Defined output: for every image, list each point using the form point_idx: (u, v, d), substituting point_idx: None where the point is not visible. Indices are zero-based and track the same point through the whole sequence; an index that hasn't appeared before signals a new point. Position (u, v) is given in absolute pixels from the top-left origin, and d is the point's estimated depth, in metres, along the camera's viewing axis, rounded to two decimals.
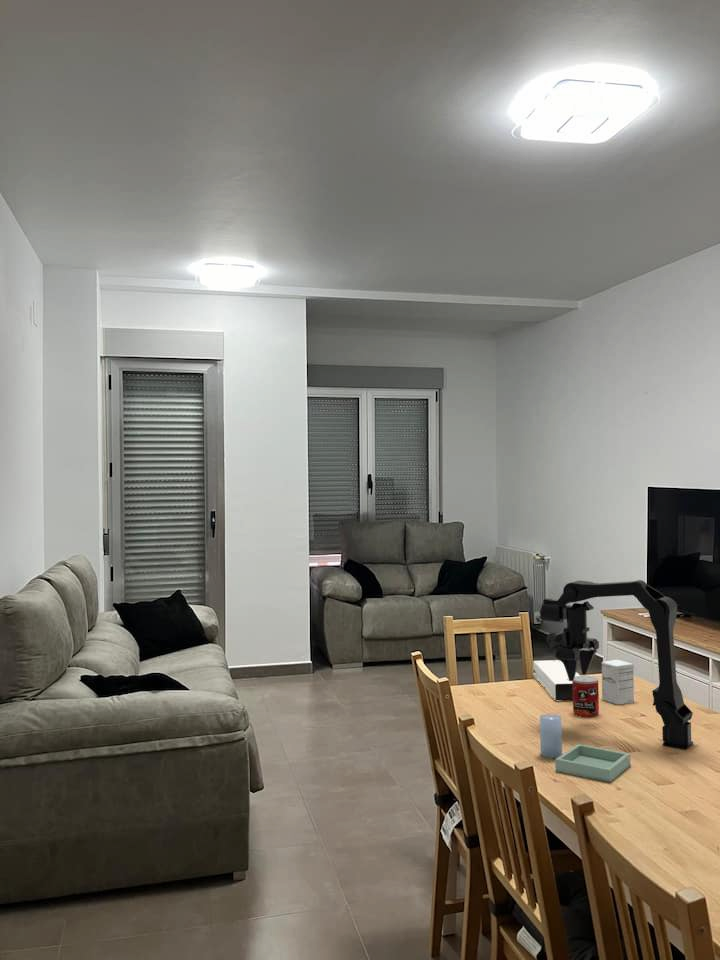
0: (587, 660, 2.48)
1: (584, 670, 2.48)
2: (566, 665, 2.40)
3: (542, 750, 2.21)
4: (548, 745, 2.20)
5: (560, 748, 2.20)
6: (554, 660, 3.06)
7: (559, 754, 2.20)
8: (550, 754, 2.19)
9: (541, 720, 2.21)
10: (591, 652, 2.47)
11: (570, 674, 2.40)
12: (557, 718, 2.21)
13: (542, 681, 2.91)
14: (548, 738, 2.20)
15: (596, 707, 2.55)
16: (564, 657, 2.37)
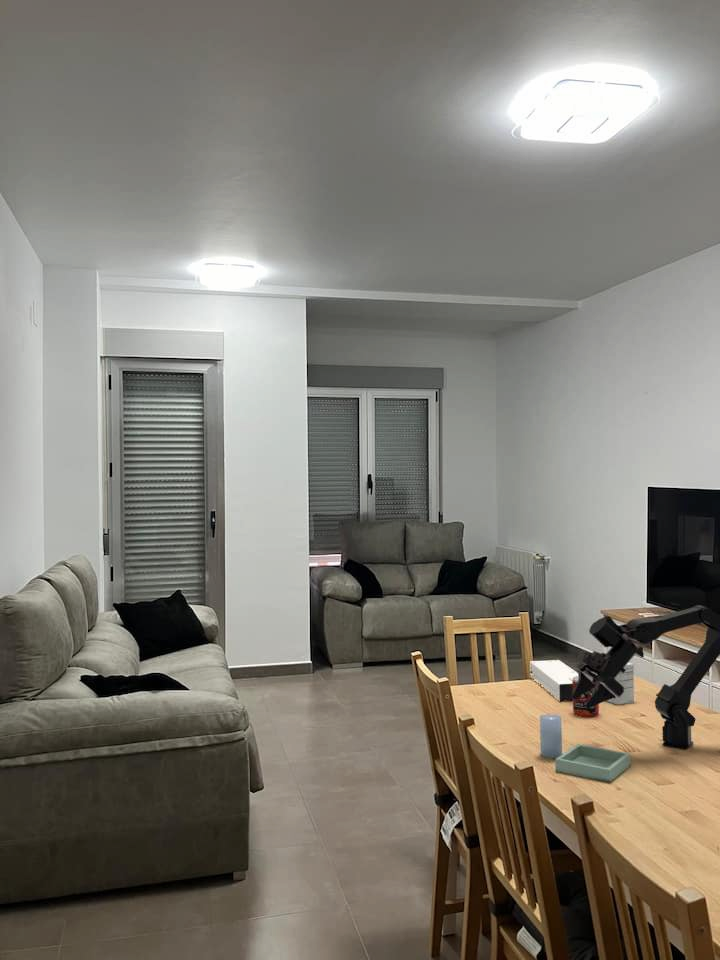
0: (585, 688, 2.29)
1: (576, 695, 2.28)
2: (597, 693, 2.18)
3: (542, 750, 2.21)
4: (548, 745, 2.20)
5: (560, 748, 2.20)
6: (550, 660, 3.06)
7: (559, 754, 2.20)
8: (550, 754, 2.19)
9: (541, 720, 2.21)
10: (593, 684, 2.29)
11: (592, 702, 2.18)
12: (557, 718, 2.21)
13: (542, 681, 2.91)
14: (548, 738, 2.20)
15: (596, 707, 2.55)
16: (613, 689, 2.15)
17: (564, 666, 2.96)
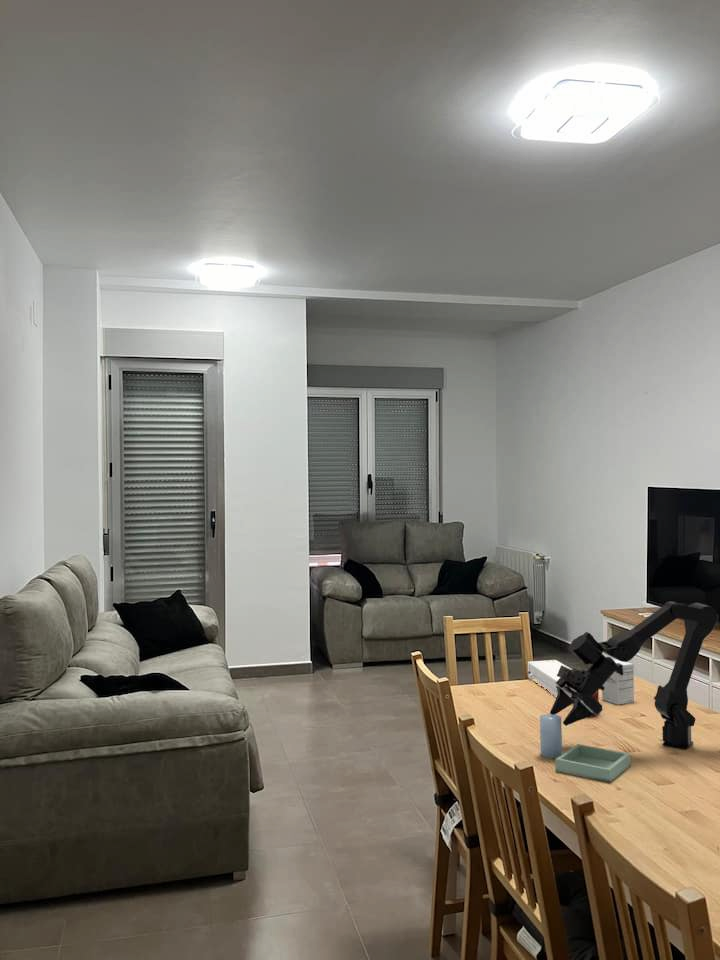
0: (563, 705, 2.28)
1: (555, 711, 2.27)
2: (576, 710, 2.17)
3: (542, 750, 2.21)
4: (548, 745, 2.20)
5: (560, 748, 2.20)
6: (548, 660, 3.06)
7: (559, 754, 2.20)
8: (550, 754, 2.19)
9: (541, 720, 2.21)
10: (572, 701, 2.28)
11: (570, 719, 2.17)
12: (557, 718, 2.21)
13: (541, 682, 2.91)
14: (548, 738, 2.20)
15: None
16: (591, 707, 2.14)
17: None
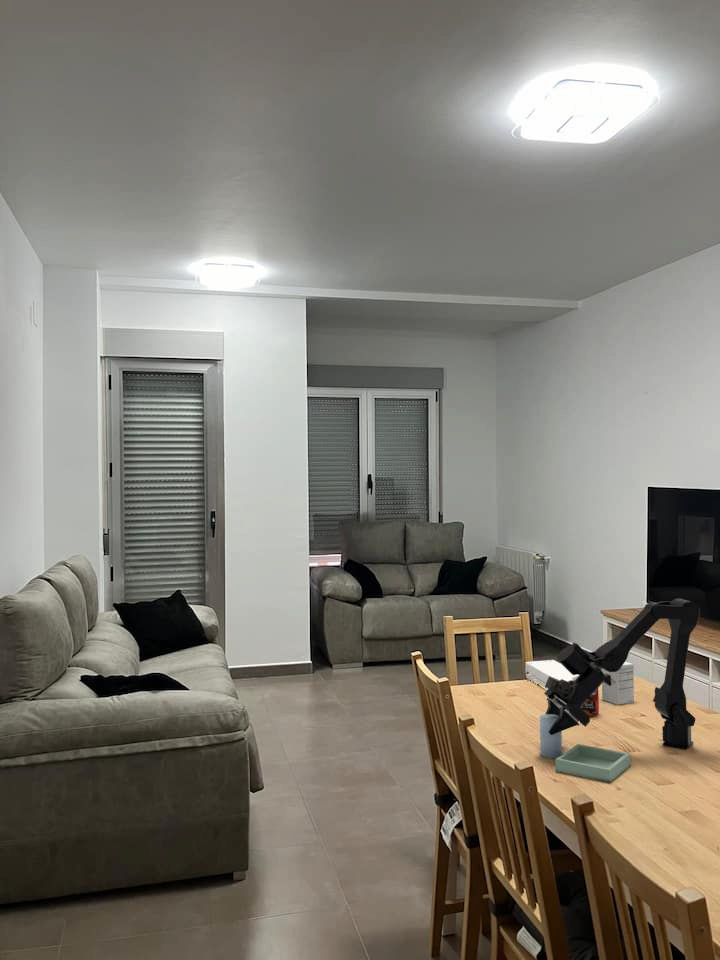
0: None
1: None
2: (561, 720, 2.18)
3: (542, 750, 2.21)
4: (548, 744, 2.20)
5: (560, 748, 2.20)
6: (545, 660, 3.06)
7: (559, 754, 2.20)
8: (550, 754, 2.19)
9: (541, 720, 2.21)
10: None
11: (556, 729, 2.18)
12: (557, 718, 2.21)
13: (541, 682, 2.90)
14: (548, 737, 2.20)
15: (596, 707, 2.55)
16: (579, 719, 2.13)
17: (561, 666, 2.96)
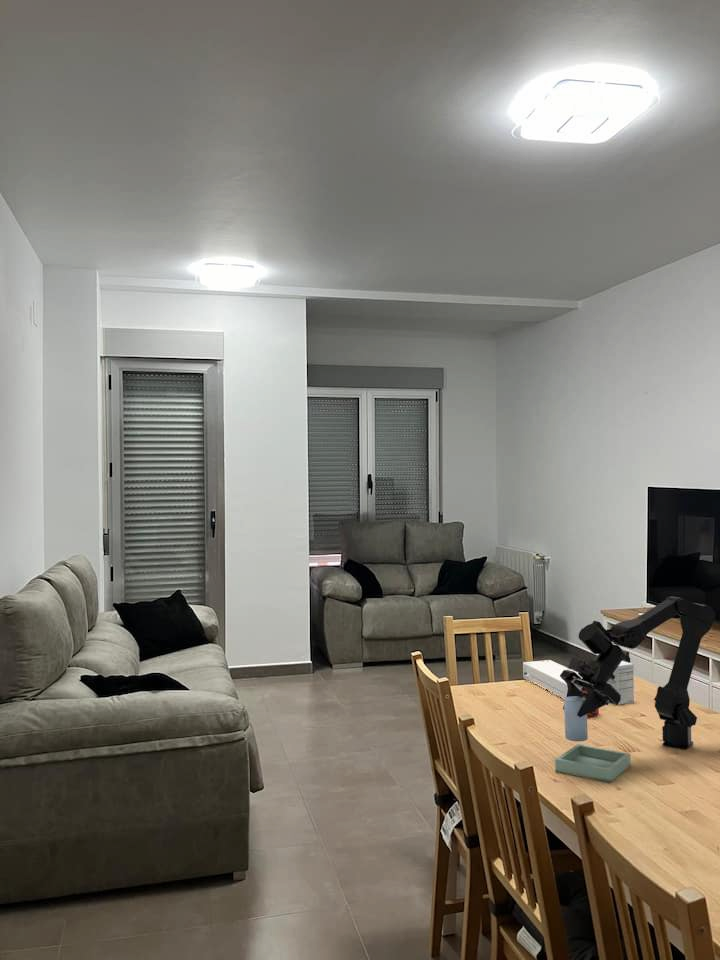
0: None
1: None
2: (590, 701, 2.11)
3: (569, 734, 2.13)
4: (576, 727, 2.12)
5: (586, 730, 2.14)
6: None
7: (586, 736, 2.13)
8: (578, 737, 2.12)
9: (567, 703, 2.13)
10: (582, 694, 2.20)
11: (585, 710, 2.11)
12: (582, 699, 2.14)
13: (541, 682, 2.90)
14: (576, 720, 2.12)
15: None
16: (612, 698, 2.08)
17: (560, 666, 2.96)
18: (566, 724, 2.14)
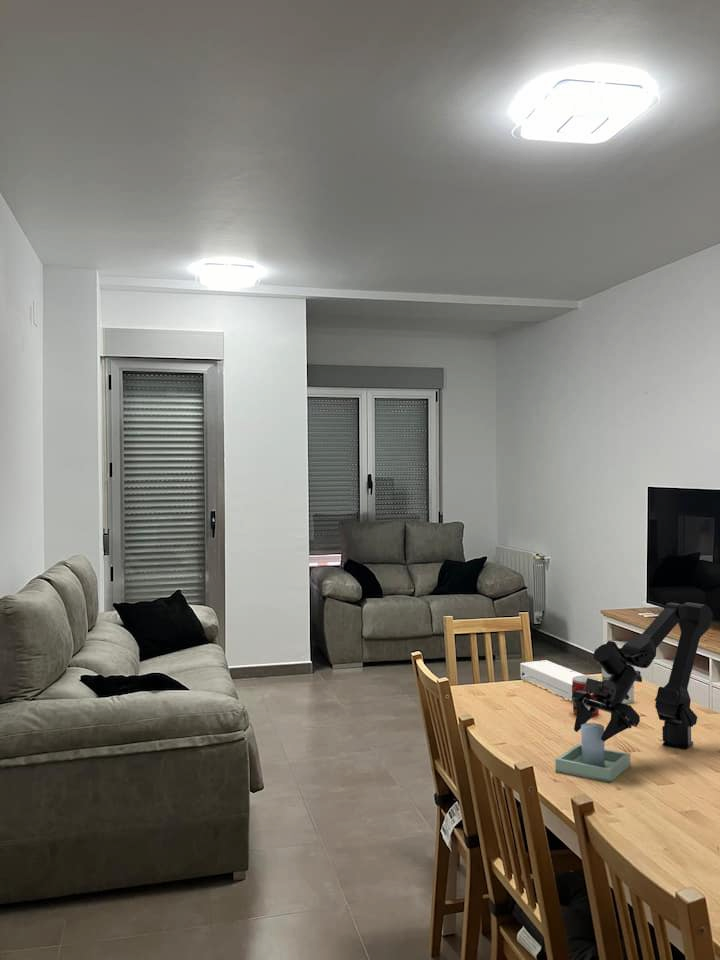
0: (585, 719, 2.17)
1: (578, 727, 2.15)
2: (614, 724, 2.07)
3: (587, 762, 2.10)
4: (595, 755, 2.09)
5: (604, 757, 2.10)
6: (539, 661, 3.05)
7: (604, 764, 2.10)
8: (597, 765, 2.09)
9: (586, 730, 2.10)
10: (591, 714, 2.18)
11: (609, 734, 2.07)
12: (600, 726, 2.11)
13: (541, 683, 2.89)
14: (595, 748, 2.09)
15: None
16: (632, 719, 2.05)
17: (558, 666, 2.96)
18: (584, 752, 2.10)
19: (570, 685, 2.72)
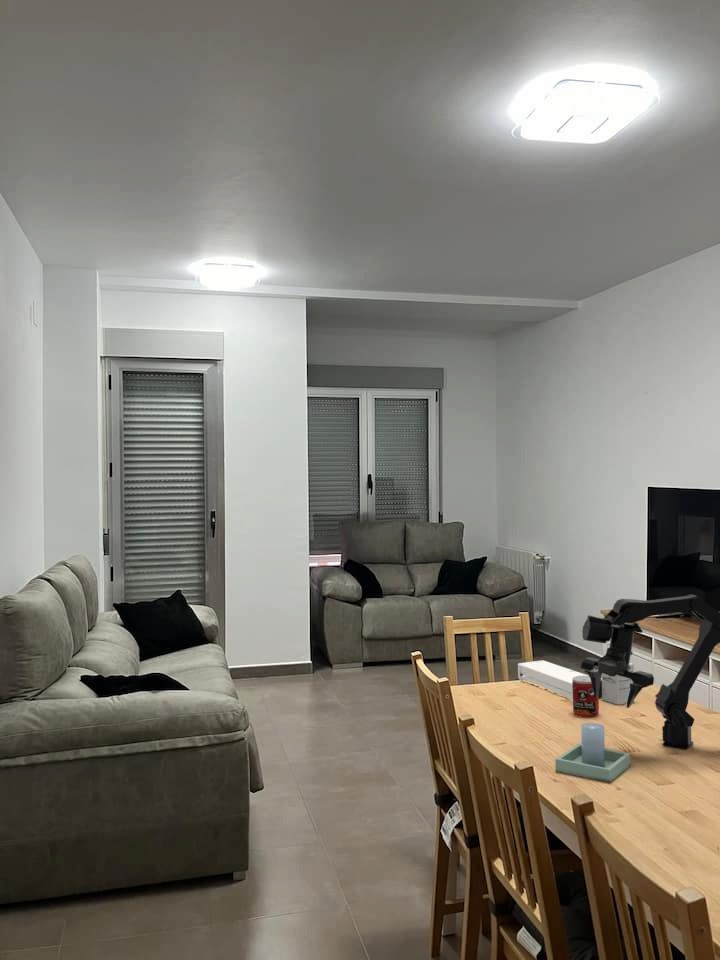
0: (599, 682, 2.31)
1: (597, 693, 2.30)
2: None
3: (587, 762, 2.10)
4: (595, 755, 2.09)
5: (604, 757, 2.10)
6: (536, 661, 3.05)
7: (604, 764, 2.10)
8: (597, 765, 2.09)
9: (586, 730, 2.10)
10: (601, 672, 2.32)
11: (632, 701, 2.24)
12: (600, 726, 2.11)
13: (541, 683, 2.89)
14: (595, 748, 2.09)
15: (596, 707, 2.55)
16: (650, 684, 2.21)
17: (556, 666, 2.96)
18: (584, 752, 2.10)
19: None
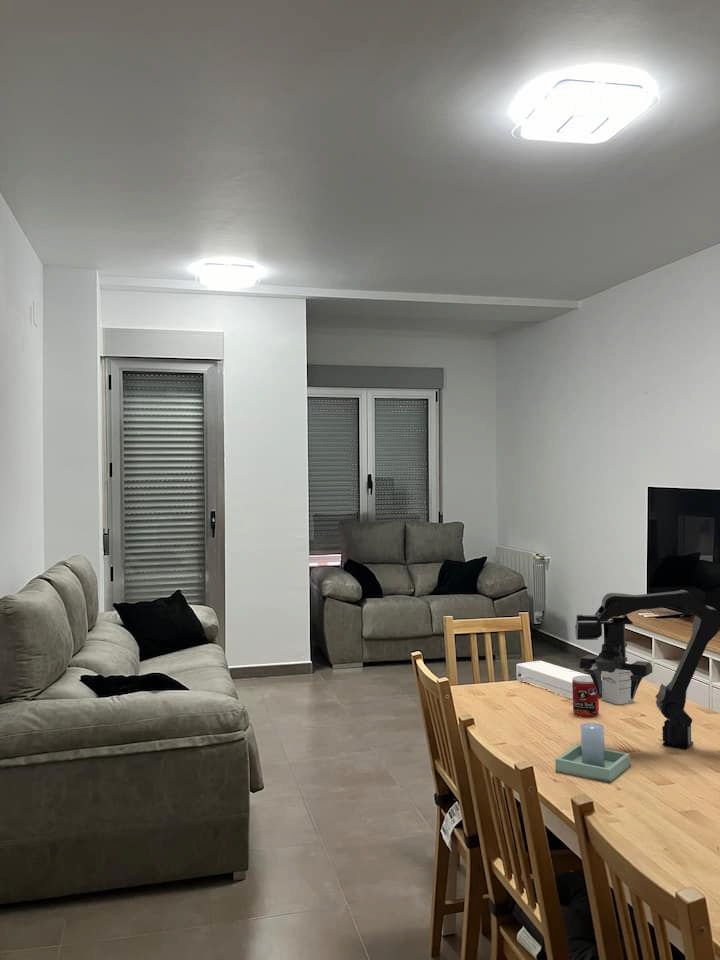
0: (600, 678, 2.33)
1: (600, 689, 2.32)
2: None
3: (587, 762, 2.09)
4: (595, 755, 2.09)
5: (604, 757, 2.11)
6: (534, 661, 3.05)
7: (604, 764, 2.10)
8: (597, 765, 2.09)
9: (585, 730, 2.10)
10: None
11: (635, 691, 2.26)
12: (600, 726, 2.11)
13: (541, 683, 2.89)
14: (595, 748, 2.09)
15: (596, 707, 2.55)
16: (649, 672, 2.24)
17: (555, 666, 2.97)
18: (584, 752, 2.10)
19: None
